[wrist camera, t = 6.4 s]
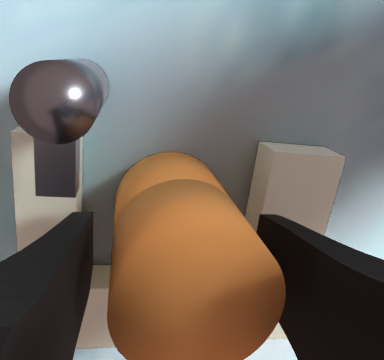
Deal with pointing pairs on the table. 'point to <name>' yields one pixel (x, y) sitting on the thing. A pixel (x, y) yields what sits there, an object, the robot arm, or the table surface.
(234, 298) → the orange rounded cylinder
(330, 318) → the robot arm
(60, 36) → the table surface
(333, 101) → the table surface
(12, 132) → the beige u-shaped block
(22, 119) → the hook post
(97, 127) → the table surface
